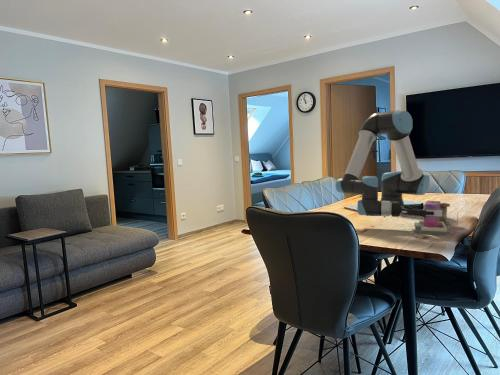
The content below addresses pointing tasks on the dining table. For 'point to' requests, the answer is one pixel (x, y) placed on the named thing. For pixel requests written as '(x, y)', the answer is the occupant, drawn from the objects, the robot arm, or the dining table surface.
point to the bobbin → (444, 212)
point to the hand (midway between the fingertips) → (440, 210)
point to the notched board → (432, 228)
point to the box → (432, 220)
